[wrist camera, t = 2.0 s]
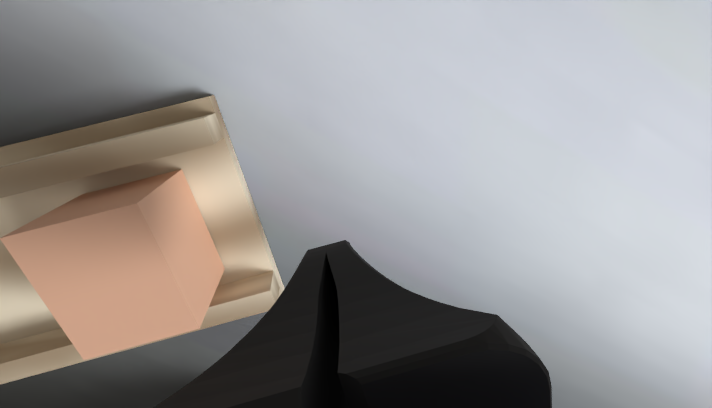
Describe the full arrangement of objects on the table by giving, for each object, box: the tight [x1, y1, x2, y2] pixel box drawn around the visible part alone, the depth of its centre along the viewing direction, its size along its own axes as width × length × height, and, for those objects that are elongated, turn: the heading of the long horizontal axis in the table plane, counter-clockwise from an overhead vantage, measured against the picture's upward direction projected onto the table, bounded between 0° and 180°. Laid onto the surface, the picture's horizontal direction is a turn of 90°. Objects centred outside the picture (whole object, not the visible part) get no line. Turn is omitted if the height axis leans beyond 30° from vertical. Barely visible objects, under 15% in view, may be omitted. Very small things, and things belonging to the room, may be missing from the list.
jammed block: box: [0, 169, 225, 360], centre depth 16 cm, size 6×5×5 cm
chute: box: [0, 95, 285, 384], centre depth 18 cm, size 12×24×3 cm, turn 103°
